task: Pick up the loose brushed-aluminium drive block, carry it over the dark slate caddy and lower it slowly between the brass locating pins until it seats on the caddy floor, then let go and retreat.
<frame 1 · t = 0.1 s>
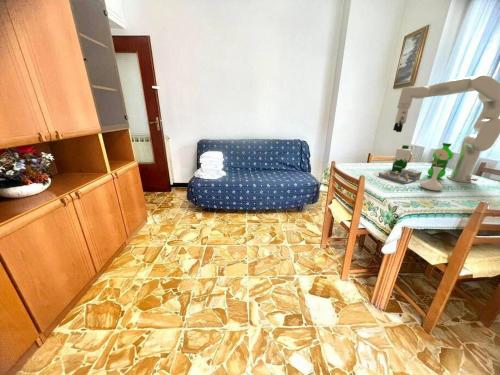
hand: (396, 131, 152), 31 cm above the table, tool pointing down, fingers open, 9 cm apart
milk carton: (397, 171, 165), on the table
flower in vase: (429, 188, 131), on the table
drive: (409, 177, 151), on the table
caddy: (396, 178, 147), on the table
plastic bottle: (434, 177, 151), on the table
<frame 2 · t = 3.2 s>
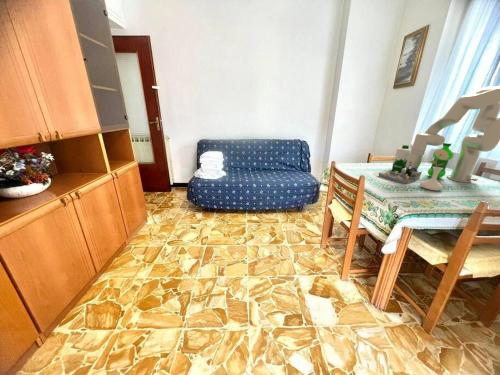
hand: (409, 175, 151), 1 cm above the table, tool pointing down, fingers closed on drive, 6 cm apart
drive: (409, 177, 151), on the table, touching gripper
everything else where it was.
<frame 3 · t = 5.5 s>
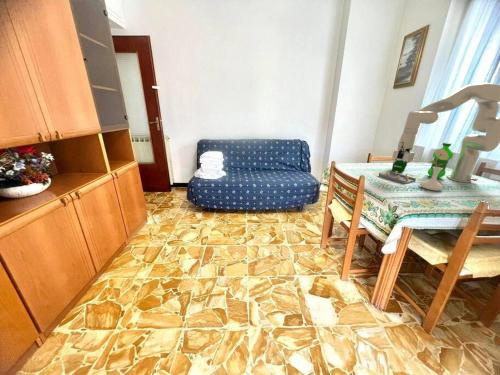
hand: (402, 157, 142), 15 cm above the table, tool pointing down, fingers closed on drive, 6 cm apart
drive: (401, 159, 142), point 14 cm above the table, touching gripper
everything else where it was.
when the fingers open (3 cm above the table, at t = 7.9 s): drive drops 1 cm, resting on caddy.
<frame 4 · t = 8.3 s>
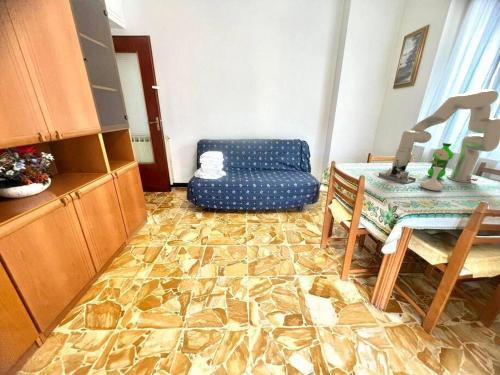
hand: (397, 173, 146), 4 cm above the table, tool pointing down, fingers open, 9 cm apart
drive: (396, 177, 147), point 1 cm above the table, touching caddy
everything else where it was.
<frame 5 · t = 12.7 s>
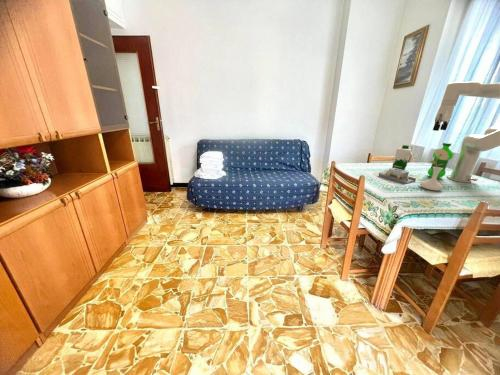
hand: (439, 130, 141), 33 cm above the table, tool pointing down, fingers open, 9 cm apart
nothing on the table moved.
at the end: drive 0.2 cm off-centre on the caddy, point 1.0 cm above the caddy's base; drive tilted 0°; the gripper is holding nothing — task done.
